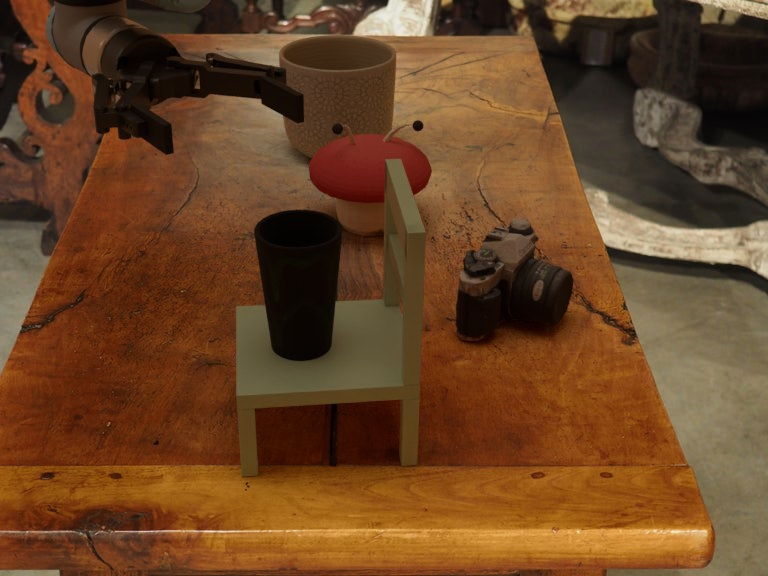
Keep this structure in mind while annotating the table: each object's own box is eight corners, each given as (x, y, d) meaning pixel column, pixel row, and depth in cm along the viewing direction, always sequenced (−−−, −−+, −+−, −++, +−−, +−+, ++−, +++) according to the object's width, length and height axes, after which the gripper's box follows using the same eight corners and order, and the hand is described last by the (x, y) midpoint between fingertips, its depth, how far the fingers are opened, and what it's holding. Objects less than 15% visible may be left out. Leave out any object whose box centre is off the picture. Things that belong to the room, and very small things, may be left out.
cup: (335, 318, 103) (334, 206, 97) (350, 362, 97) (350, 244, 91) (255, 326, 102) (249, 212, 96) (264, 371, 95) (259, 252, 89)
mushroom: (324, 258, 132) (322, 145, 125) (298, 204, 146) (295, 99, 138) (445, 244, 136) (450, 133, 129) (409, 193, 149) (412, 90, 142)
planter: (317, 182, 152) (315, 78, 144) (262, 143, 164) (258, 45, 157) (416, 158, 160) (419, 58, 152) (357, 122, 172) (357, 28, 165)
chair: (241, 477, 96) (225, 240, 84) (240, 381, 109) (226, 164, 97) (417, 465, 98) (426, 231, 86) (396, 372, 111) (401, 158, 99)
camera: (531, 364, 113) (539, 281, 108) (444, 337, 117) (448, 256, 112) (584, 299, 125) (594, 222, 120) (503, 276, 129) (510, 201, 124)
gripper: (239, 76, 120) (349, 134, 105) (21, 120, 106) (112, 194, 92) (236, 9, 116) (350, 59, 101) (9, 46, 103) (102, 111, 88)
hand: (237, 123), depth 97 cm, fingers open, 13 cm apart
